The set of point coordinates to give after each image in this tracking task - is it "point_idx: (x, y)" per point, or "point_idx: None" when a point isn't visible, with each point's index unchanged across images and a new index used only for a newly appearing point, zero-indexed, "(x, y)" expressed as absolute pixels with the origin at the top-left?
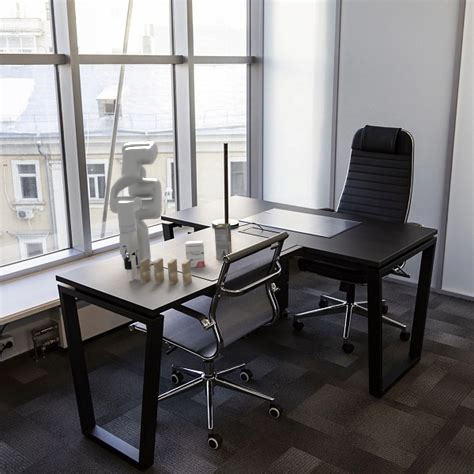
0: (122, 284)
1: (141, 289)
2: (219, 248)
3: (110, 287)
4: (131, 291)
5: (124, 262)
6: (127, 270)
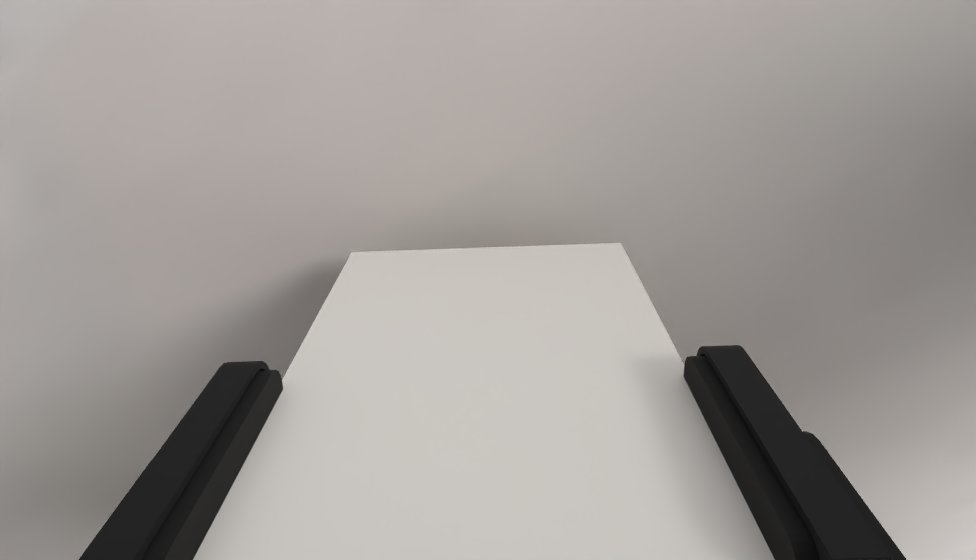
0: (249, 174)
1: None
2: None
3: (12, 6)
4: (29, 454)
5: (110, 529)
6: (297, 377)
